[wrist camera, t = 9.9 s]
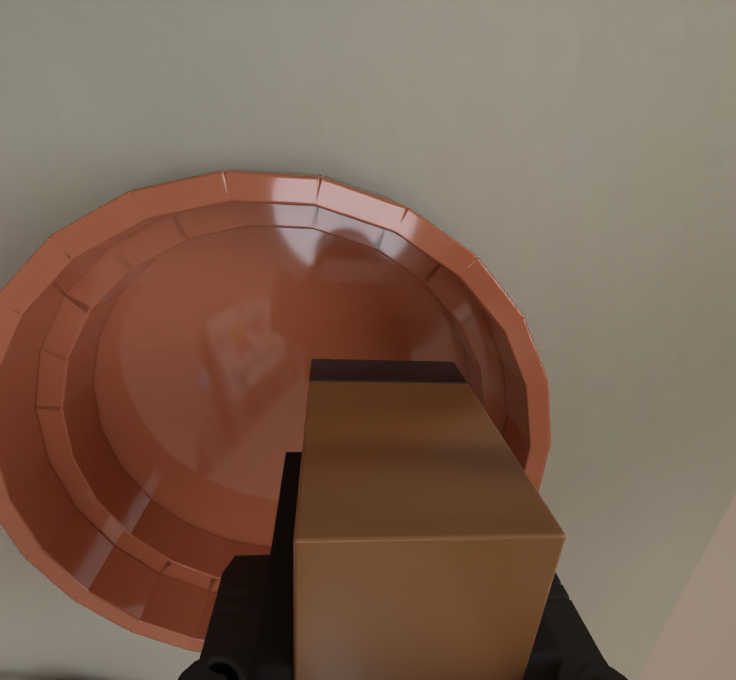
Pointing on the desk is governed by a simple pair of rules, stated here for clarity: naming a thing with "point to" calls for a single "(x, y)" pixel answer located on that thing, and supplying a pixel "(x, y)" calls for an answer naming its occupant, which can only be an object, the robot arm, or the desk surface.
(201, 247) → the terracotta bowl
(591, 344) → the desk surface
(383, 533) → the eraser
